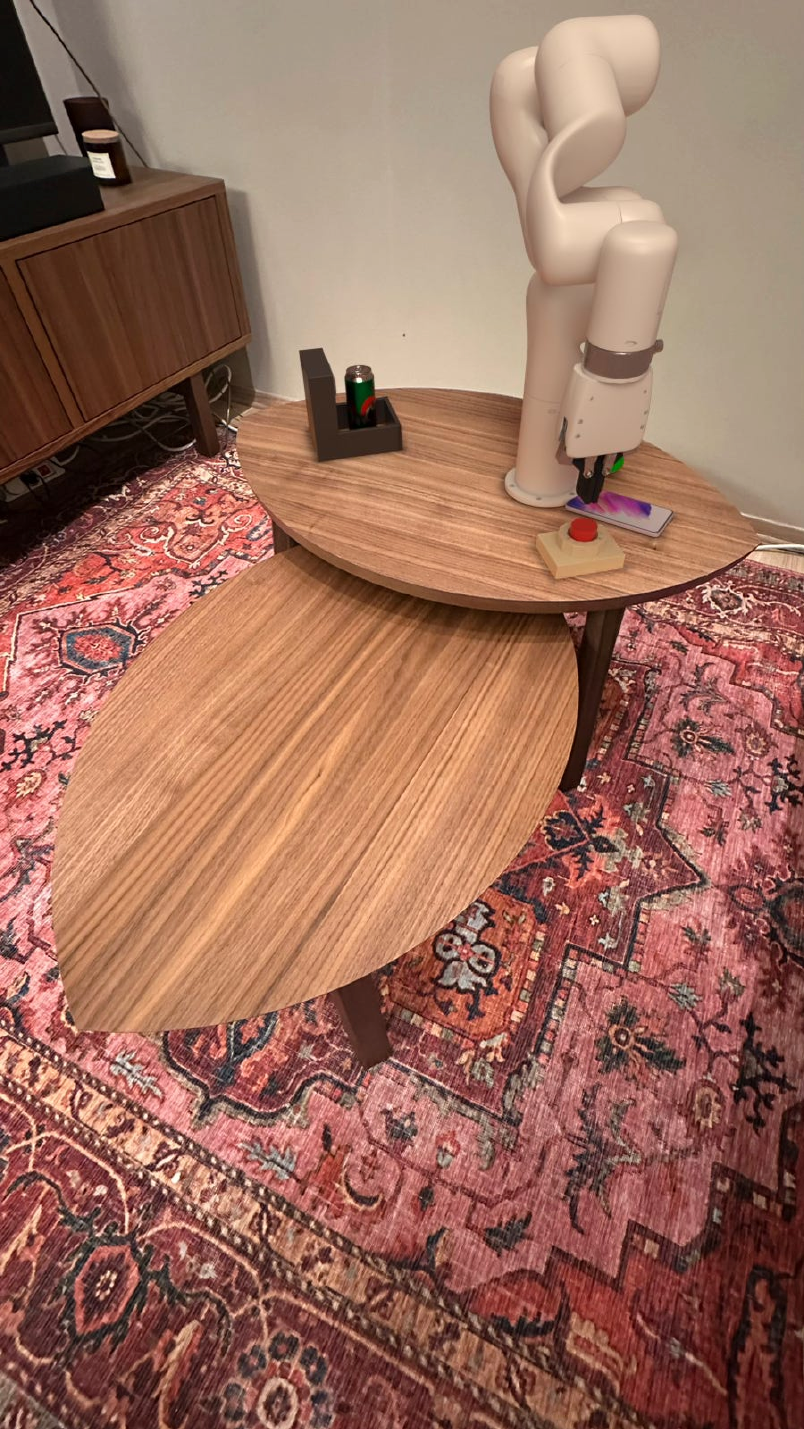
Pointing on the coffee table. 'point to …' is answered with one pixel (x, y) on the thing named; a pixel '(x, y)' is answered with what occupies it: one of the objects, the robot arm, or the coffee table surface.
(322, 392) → the brown can holder
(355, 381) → the soda can
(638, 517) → the smartphone
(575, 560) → the control block
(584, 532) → the button
